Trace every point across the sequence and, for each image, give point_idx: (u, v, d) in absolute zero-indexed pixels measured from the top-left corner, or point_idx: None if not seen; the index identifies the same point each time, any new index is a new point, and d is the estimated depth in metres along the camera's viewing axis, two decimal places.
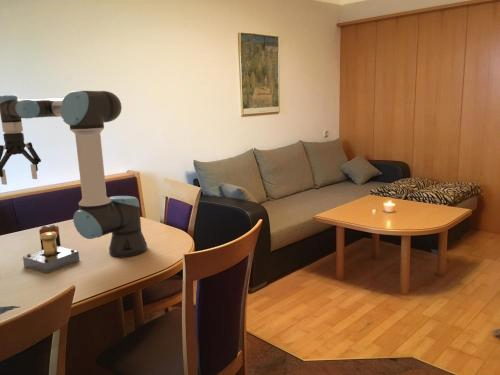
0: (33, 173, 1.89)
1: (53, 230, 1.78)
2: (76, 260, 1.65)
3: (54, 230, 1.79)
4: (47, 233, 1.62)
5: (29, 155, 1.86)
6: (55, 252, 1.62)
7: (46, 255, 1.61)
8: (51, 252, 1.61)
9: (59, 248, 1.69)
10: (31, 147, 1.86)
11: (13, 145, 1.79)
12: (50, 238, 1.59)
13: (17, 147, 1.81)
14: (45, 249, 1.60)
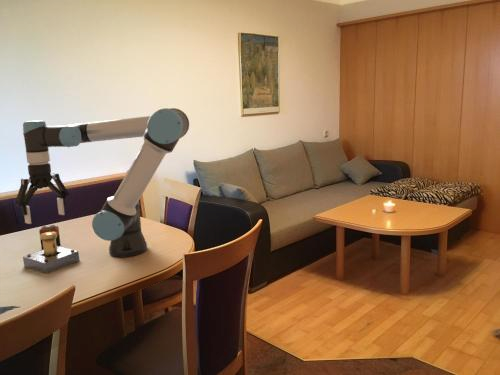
0: (60, 208, 1.65)
1: (53, 230, 1.78)
2: (76, 260, 1.65)
3: (54, 230, 1.79)
4: (47, 233, 1.62)
5: (56, 188, 1.62)
6: (55, 252, 1.62)
7: (46, 255, 1.61)
8: (51, 252, 1.61)
9: (59, 248, 1.69)
10: (58, 179, 1.62)
11: (39, 178, 1.55)
12: (50, 238, 1.59)
13: (43, 180, 1.57)
14: (45, 249, 1.60)
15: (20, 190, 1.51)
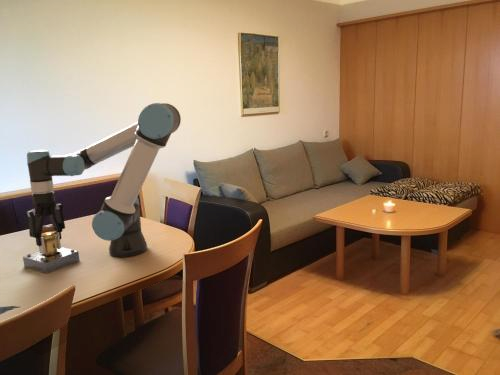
0: (56, 242, 1.65)
1: (53, 230, 1.78)
2: (76, 260, 1.65)
3: (54, 230, 1.79)
4: (47, 233, 1.62)
5: (56, 220, 1.62)
6: (55, 252, 1.62)
7: (46, 255, 1.61)
8: (51, 252, 1.61)
9: None
10: (60, 210, 1.64)
11: (42, 205, 1.57)
12: (50, 238, 1.59)
13: (47, 207, 1.59)
14: (45, 249, 1.60)
15: (29, 223, 1.55)
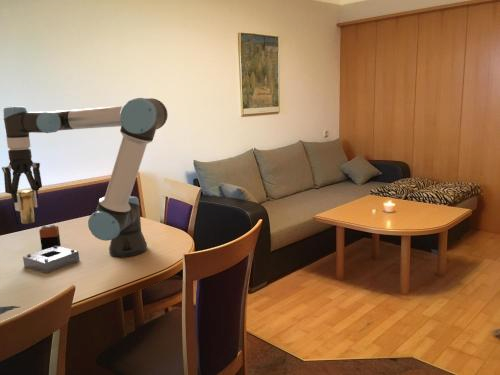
0: (33, 200, 1.65)
1: (53, 230, 1.78)
2: (76, 260, 1.65)
3: (54, 230, 1.79)
4: (23, 191, 1.62)
5: (32, 178, 1.62)
6: (31, 210, 1.62)
7: (22, 212, 1.61)
8: (27, 210, 1.61)
9: (59, 248, 1.69)
10: (37, 168, 1.64)
11: (18, 161, 1.57)
12: (26, 195, 1.59)
13: (24, 164, 1.59)
14: (21, 206, 1.60)
15: (5, 178, 1.55)
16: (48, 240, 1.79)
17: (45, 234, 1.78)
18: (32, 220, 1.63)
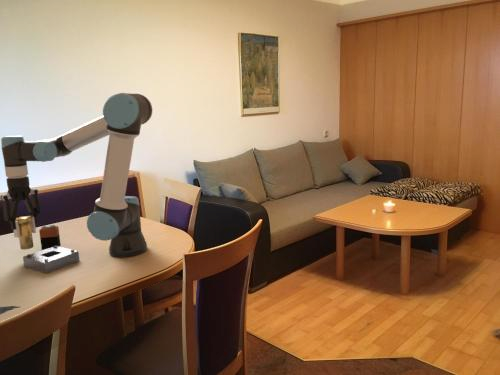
0: (31, 226, 1.68)
1: (53, 230, 1.78)
2: (76, 260, 1.65)
3: (54, 230, 1.79)
4: (21, 217, 1.66)
5: (30, 204, 1.66)
6: (30, 236, 1.66)
7: (21, 239, 1.64)
8: (25, 236, 1.64)
9: (59, 248, 1.69)
10: (35, 195, 1.67)
11: (16, 189, 1.61)
12: (24, 222, 1.63)
13: (22, 192, 1.62)
14: (20, 233, 1.64)
15: (4, 206, 1.59)
16: (48, 240, 1.79)
17: (45, 234, 1.78)
18: (31, 246, 1.66)
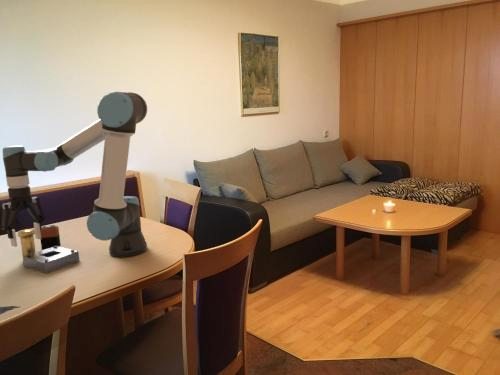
0: (36, 233, 1.70)
1: (53, 230, 1.78)
2: (76, 260, 1.65)
3: (54, 230, 1.79)
4: (25, 230, 1.67)
5: (34, 212, 1.67)
6: (32, 248, 1.67)
7: (24, 251, 1.66)
8: (28, 249, 1.66)
9: (59, 248, 1.69)
10: (38, 202, 1.68)
11: (18, 200, 1.62)
12: (27, 235, 1.64)
13: (23, 202, 1.63)
14: (23, 245, 1.65)
15: (3, 215, 1.59)
16: (48, 240, 1.79)
17: (45, 234, 1.78)
18: None
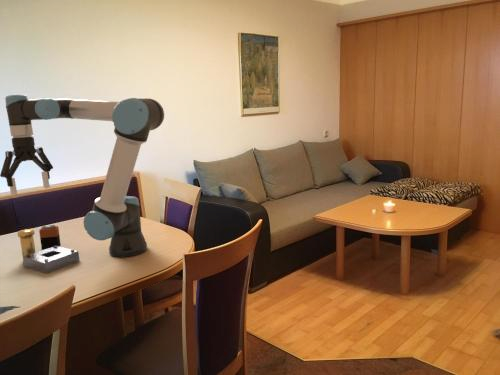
0: (45, 181, 1.70)
1: (53, 230, 1.78)
2: (76, 260, 1.65)
3: (54, 230, 1.79)
4: (24, 230, 1.67)
5: (40, 161, 1.67)
6: (32, 249, 1.67)
7: (23, 251, 1.66)
8: (28, 249, 1.66)
9: (59, 248, 1.69)
10: (42, 152, 1.67)
11: (23, 151, 1.60)
12: (27, 235, 1.64)
13: (27, 153, 1.62)
14: (22, 246, 1.65)
15: (5, 162, 1.56)
16: (48, 240, 1.79)
17: (45, 234, 1.78)
18: None
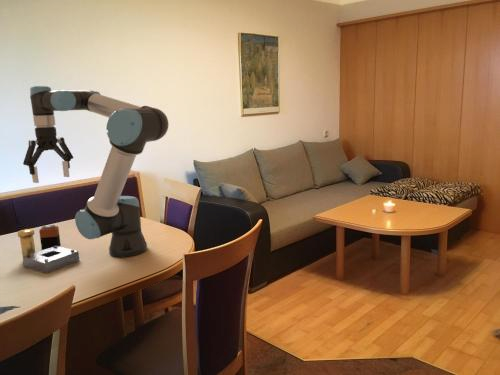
0: (65, 171, 1.75)
1: (53, 230, 1.78)
2: (76, 260, 1.65)
3: (54, 230, 1.79)
4: (24, 230, 1.67)
5: (61, 151, 1.72)
6: (32, 248, 1.67)
7: (23, 251, 1.66)
8: (28, 249, 1.66)
9: (59, 248, 1.69)
10: (63, 142, 1.72)
11: (45, 140, 1.66)
12: (27, 235, 1.64)
13: (49, 142, 1.67)
14: (22, 246, 1.65)
15: (28, 151, 1.62)
16: (48, 240, 1.79)
17: (45, 234, 1.78)
18: None
